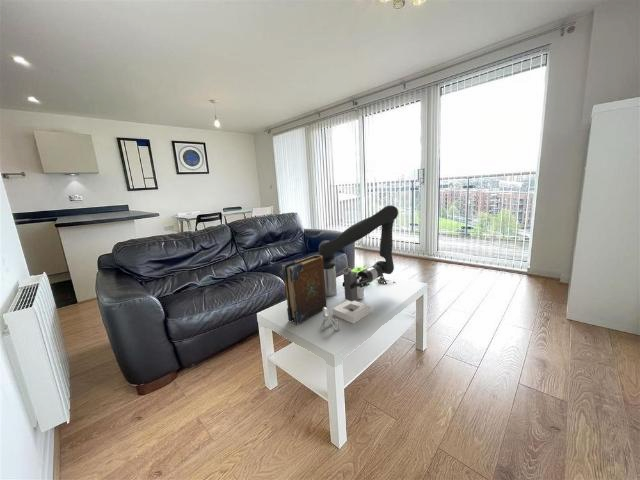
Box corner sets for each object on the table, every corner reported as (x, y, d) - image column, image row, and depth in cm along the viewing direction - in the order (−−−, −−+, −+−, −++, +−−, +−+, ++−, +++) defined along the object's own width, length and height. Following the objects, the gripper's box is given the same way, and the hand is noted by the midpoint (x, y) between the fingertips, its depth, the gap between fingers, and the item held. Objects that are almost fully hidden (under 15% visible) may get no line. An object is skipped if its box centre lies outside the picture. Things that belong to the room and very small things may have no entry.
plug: (345, 299, 131) (343, 268, 128) (350, 296, 134) (348, 266, 131) (352, 301, 128) (350, 270, 125) (357, 298, 131) (355, 267, 128)
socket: (332, 314, 133) (332, 308, 133) (350, 304, 143) (349, 299, 142) (353, 323, 123) (353, 317, 123) (370, 312, 133) (370, 306, 132)
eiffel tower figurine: (397, 283, 169) (396, 263, 166) (388, 288, 162) (388, 268, 159) (377, 278, 179) (377, 260, 177) (369, 282, 173) (368, 264, 170)
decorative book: (297, 325, 125) (291, 267, 119) (288, 321, 130) (282, 265, 124) (328, 307, 142) (325, 255, 136) (319, 303, 147) (315, 253, 140)
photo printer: (347, 295, 155) (346, 275, 153) (352, 292, 158) (351, 273, 155) (360, 300, 148) (359, 279, 145) (365, 297, 150) (364, 277, 148)
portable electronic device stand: (339, 331, 118) (338, 314, 117) (322, 332, 118) (321, 316, 116) (337, 321, 127) (336, 305, 125) (321, 323, 126) (320, 307, 125)
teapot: (365, 277, 182) (365, 263, 180) (374, 283, 169) (374, 268, 167) (345, 280, 178) (344, 266, 176) (352, 287, 165) (352, 272, 163)
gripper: (356, 266, 143) (335, 276, 132) (378, 271, 133) (357, 282, 122) (357, 279, 145) (336, 289, 134) (379, 285, 135) (358, 296, 123)
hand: (347, 285), depth 128 cm, fingers closed on plug, 4 cm apart
